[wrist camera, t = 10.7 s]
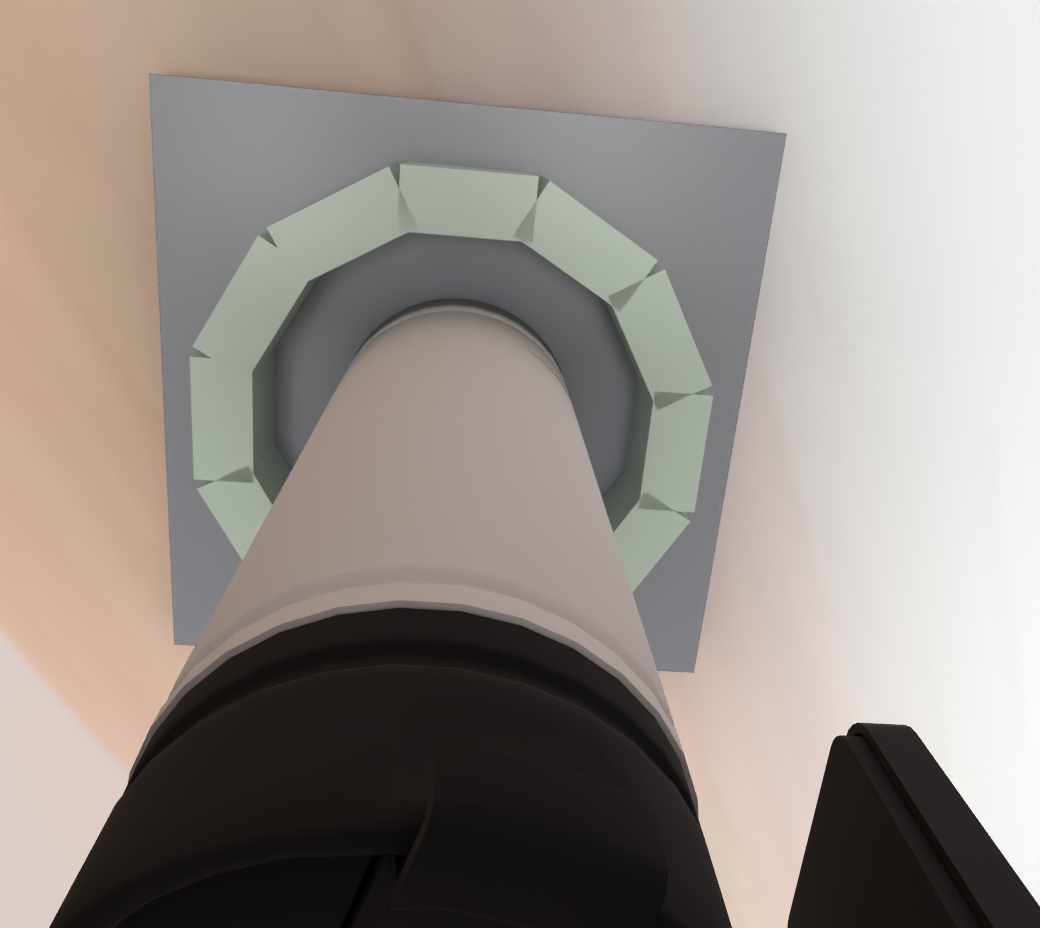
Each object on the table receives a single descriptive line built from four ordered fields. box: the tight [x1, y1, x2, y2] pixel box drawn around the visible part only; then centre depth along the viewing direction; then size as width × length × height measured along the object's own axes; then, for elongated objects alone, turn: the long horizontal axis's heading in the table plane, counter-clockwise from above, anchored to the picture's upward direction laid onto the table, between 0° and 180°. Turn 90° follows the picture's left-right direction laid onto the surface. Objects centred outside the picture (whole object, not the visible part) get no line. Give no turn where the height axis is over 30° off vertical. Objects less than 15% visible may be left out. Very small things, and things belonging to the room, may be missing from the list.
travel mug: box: [49, 299, 732, 928], centre depth 16 cm, size 6×7×20 cm
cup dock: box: [149, 74, 786, 673], centre depth 25 cm, size 16×16×4 cm
